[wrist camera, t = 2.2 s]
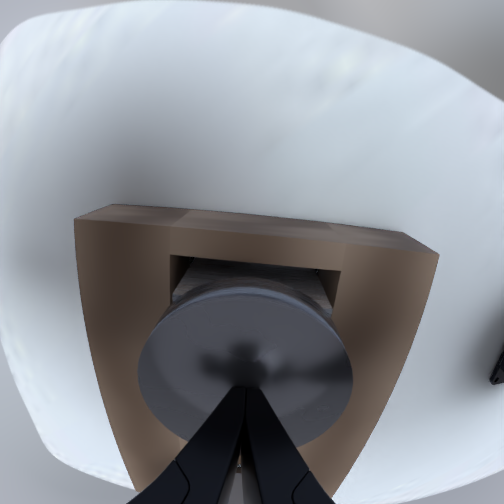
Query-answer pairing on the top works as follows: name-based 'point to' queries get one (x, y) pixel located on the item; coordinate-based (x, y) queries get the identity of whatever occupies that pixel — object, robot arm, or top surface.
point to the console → (254, 251)
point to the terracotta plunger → (236, 490)
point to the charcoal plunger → (247, 348)
